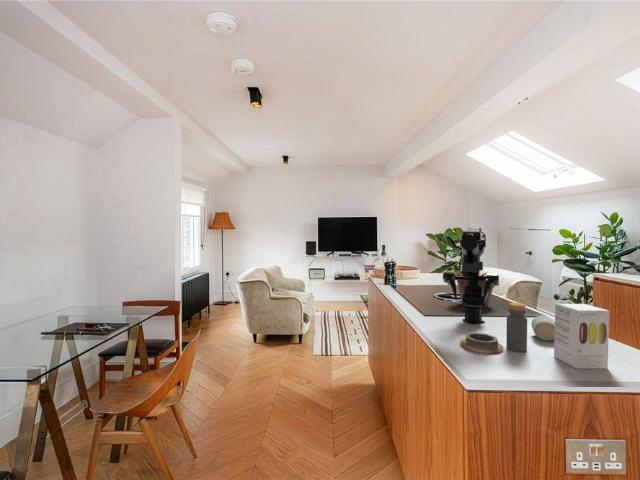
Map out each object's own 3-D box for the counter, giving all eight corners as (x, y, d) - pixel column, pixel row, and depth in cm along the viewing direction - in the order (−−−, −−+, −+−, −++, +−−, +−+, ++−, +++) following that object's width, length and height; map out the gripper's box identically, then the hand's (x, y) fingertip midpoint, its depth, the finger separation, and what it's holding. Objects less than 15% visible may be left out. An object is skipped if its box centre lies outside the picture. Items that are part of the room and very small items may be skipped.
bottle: (502, 346, 112) (502, 302, 112) (518, 345, 113) (519, 302, 112) (514, 352, 106) (514, 306, 106) (531, 352, 107) (531, 306, 106)
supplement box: (575, 369, 93) (576, 310, 93) (552, 356, 103) (553, 303, 102) (609, 369, 93) (610, 310, 93) (583, 356, 103) (584, 302, 102)
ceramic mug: (533, 340, 118) (534, 319, 117) (531, 333, 125) (531, 313, 125) (570, 345, 113) (571, 323, 113) (565, 338, 120) (566, 317, 120)
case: (504, 309, 164) (504, 273, 164) (464, 309, 164) (463, 273, 164) (486, 301, 182) (486, 269, 181) (450, 302, 182) (450, 269, 182)
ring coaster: (479, 338, 120) (480, 329, 120) (512, 350, 108) (512, 340, 108) (452, 343, 115) (452, 334, 115) (483, 356, 103) (483, 346, 103)
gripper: (442, 252, 123) (439, 292, 117) (499, 253, 114) (499, 296, 109) (445, 262, 132) (443, 300, 126) (498, 264, 123) (498, 305, 118)
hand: (469, 300), depth 119 cm, fingers open, 9 cm apart
